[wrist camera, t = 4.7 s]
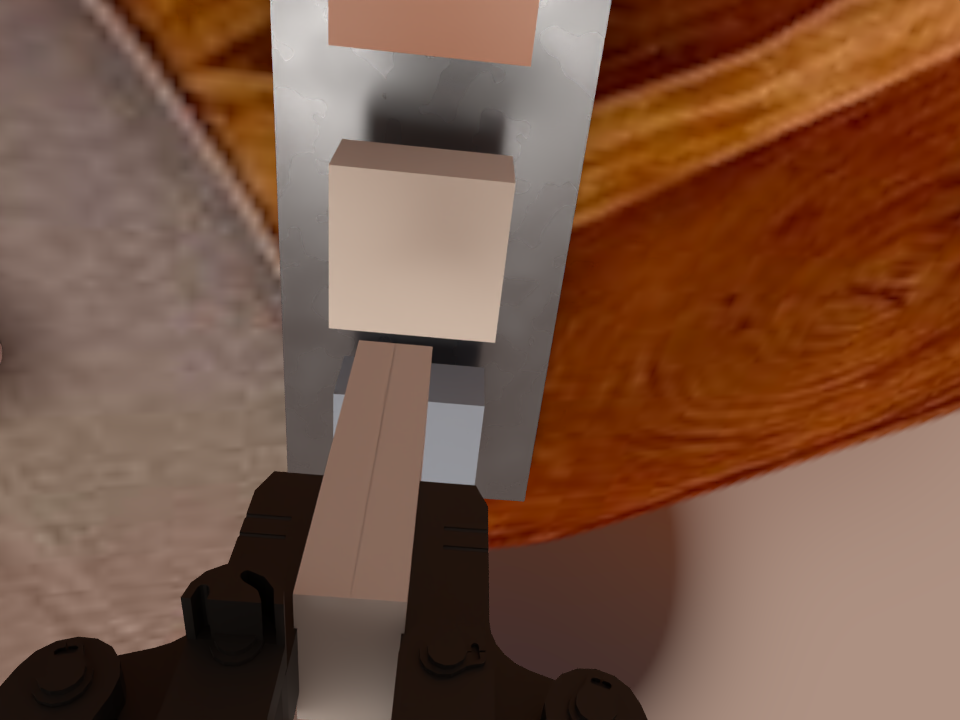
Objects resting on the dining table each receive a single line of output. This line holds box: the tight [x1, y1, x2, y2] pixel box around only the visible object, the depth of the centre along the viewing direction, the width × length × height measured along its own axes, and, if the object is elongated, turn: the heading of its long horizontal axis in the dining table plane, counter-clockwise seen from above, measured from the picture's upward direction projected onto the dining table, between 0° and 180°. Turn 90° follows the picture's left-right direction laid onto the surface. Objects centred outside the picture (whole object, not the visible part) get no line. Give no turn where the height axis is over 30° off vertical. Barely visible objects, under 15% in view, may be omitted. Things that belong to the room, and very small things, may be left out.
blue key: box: [333, 356, 485, 485], centre depth 29 cm, size 5×5×5 cm
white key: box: [329, 139, 516, 343], centre depth 24 cm, size 5×5×5 cm
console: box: [270, 0, 611, 501], centre depth 27 cm, size 26×10×2 cm, turn 174°
